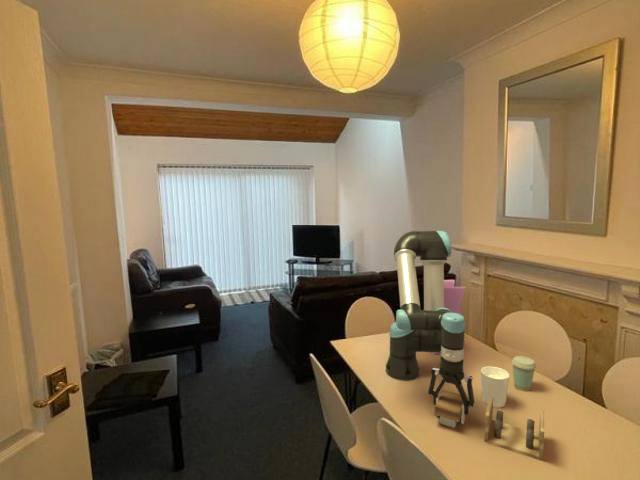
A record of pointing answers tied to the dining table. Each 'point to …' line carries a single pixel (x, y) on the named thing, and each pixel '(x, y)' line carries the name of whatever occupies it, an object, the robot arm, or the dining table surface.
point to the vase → (452, 298)
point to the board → (449, 406)
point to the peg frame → (514, 434)
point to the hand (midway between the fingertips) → (450, 417)
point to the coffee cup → (523, 372)
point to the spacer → (448, 422)
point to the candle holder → (494, 385)
